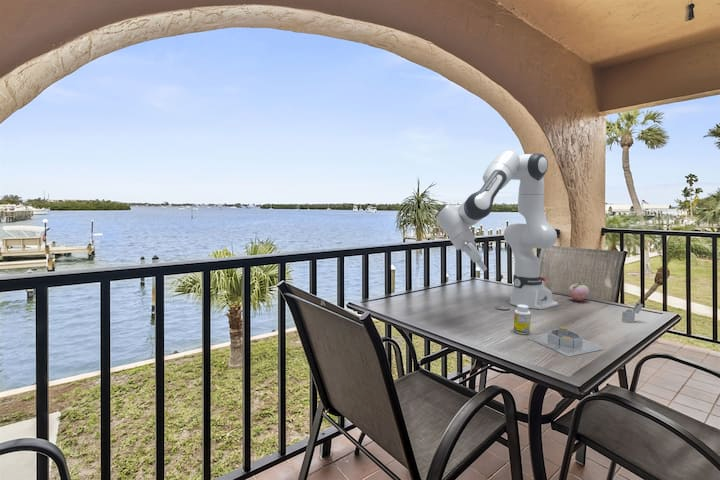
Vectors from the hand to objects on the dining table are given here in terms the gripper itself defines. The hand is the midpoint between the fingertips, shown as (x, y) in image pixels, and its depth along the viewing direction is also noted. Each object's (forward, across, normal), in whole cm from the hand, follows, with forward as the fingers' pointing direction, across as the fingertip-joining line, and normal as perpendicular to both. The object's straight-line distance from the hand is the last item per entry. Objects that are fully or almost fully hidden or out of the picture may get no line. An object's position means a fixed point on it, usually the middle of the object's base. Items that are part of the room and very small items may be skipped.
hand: (485, 269), depth 138 cm
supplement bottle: (+27, -1, +3) cm, 27 cm away
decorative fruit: (+41, +54, -27) cm, 73 cm away
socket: (+35, -9, -7) cm, 37 cm away
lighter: (+51, +26, -35) cm, 67 cm away
